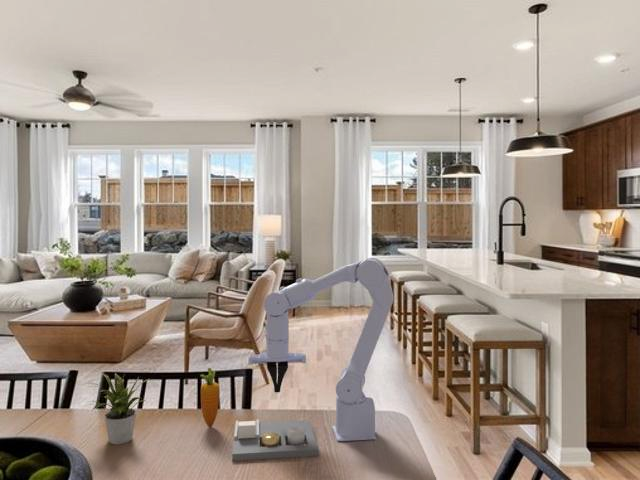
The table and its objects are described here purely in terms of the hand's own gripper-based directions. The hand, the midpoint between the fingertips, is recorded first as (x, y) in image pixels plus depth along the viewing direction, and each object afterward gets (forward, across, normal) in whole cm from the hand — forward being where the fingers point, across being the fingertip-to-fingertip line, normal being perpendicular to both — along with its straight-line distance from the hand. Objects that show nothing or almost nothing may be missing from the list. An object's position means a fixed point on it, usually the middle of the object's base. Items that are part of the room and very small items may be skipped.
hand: (277, 391), depth 120 cm
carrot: (+10, +17, -2) cm, 20 cm away
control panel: (+9, +1, +8) cm, 12 cm away
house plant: (+10, +39, +2) cm, 40 cm away
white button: (+8, -4, +11) cm, 14 cm away
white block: (+8, +7, +8) cm, 13 cm away
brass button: (+9, +2, +11) cm, 14 cm away
